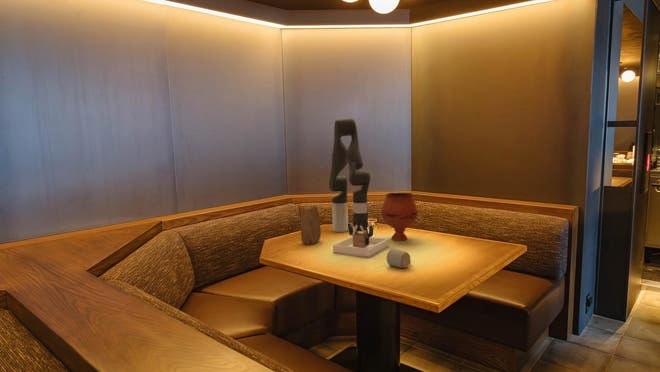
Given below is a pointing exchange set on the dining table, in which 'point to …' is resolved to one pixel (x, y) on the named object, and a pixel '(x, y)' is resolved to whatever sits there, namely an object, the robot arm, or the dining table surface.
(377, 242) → the tray
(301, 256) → the dining table surface
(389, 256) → the grey barrel
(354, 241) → the cube
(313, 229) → the block
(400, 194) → the goblet
